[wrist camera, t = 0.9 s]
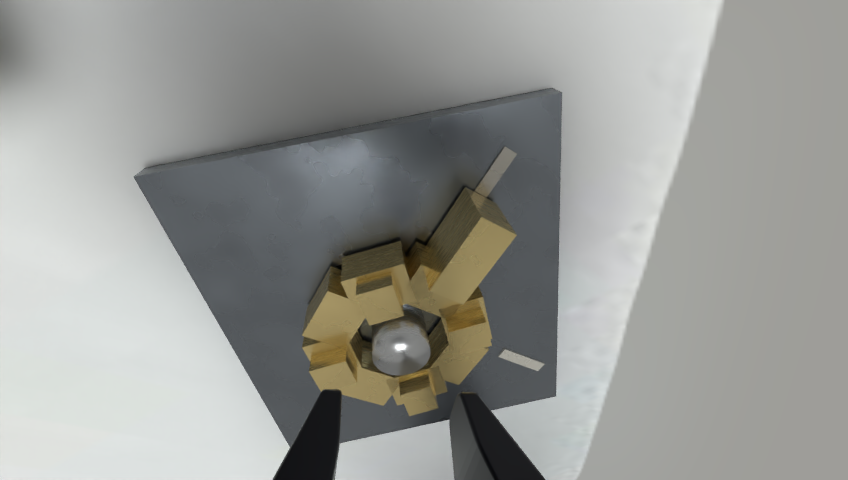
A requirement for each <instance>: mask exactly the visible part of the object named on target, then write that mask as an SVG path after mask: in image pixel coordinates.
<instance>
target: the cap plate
mask: <svg viewBox="0 0 848 480" xmlns="http://www.w3.org/2000/svg"><path fill="white" fill-rule="evenodd" d="M561 111H562V92H560V91H558V90H555V89H553V88H550V89H545V90H540V91H535V92H530V93H525V94H520V95H515V96H510V97H504V98H499V99H494V100H489V101H484V102H479V103H474V104H469V105H464V106H459V107H454V108H448V109H443V110H438V111H433V112H428V113H423V114H418V115H413V116H408V117H403V118H398V119H392V120H387V121H382V122H377V123H372V124H367V125H362V126H357V127H352V128H347V129H342V130H336V131H331V132H326V133H321V134H316V135H311V136H306V137H301V138H296V139H291V140H286V141H280V142H275V143H270V144H265V145H260V146H255V147H250V148H245V149H240V150H235V151H230V152H224V153H219V154H214V155H209V156H204V157H199V158H194V159H189V160H184V161H179V162H174V163H168V164H163V165H158V166H153V167H148V168H144V169H143V170H142V171H141V172H139V173H138V174H137V175H135V176H134V178H135V180H136V182H137V184H138V185H139V187H140V189H141V190H142V192H143V194H144V196H145V197H146V199H147V201H148V203H149V204H150V206H151V208H152V209H153V211H154V213H155V215H156V216H157V218H158V220H159V222H160V223H161V225H162V227H163V228H164V230H165V232H166V234H167V235H168V237H169V239H170V241H171V242H172V244H173V246H174V247H175V249H176V251H177V253H178V254H179V256H180V258H181V260H182V261H183V263H184V265H185V266H186V268H187V270H188V272H189V273H190V275H191V277H192V279H193V280H194V282H195V284H196V285H197V287H198V289H199V291H200V292H201V294H202V296H203V298H204V299H205V301H206V303H207V304H208V306H209V308H210V310H211V311H212V313H213V315H214V317H215V318H216V320H217V322H218V323H219V325H220V327H221V329H222V330H223V332H224V334H225V336H226V337H227V339H228V341H229V342H230V344H231V346H232V348H233V349H234V351H235V353H236V355H237V356H238V358H239V360H240V361H241V363H242V365H243V367H244V368H245V370H246V372H247V374H248V375H249V377H250V379H251V380H252V382H253V384H254V386H255V387H256V389H257V391H258V393H259V394H260V396H261V398H262V399H263V401H264V403H265V405H266V406H267V408H268V410H269V412H270V413H271V415H272V417H273V418H274V420H275V422H276V424H277V425H278V427H279V429H280V431H281V432H282V434H283V436H284V437H285V439H286V441H287V443H288V444H289V446H290V447H291V445H292V443H293V442H294V440H295V438H296V436H297V434H298V433H299V431H300V429H301V427H302V425H303V423H304V422H305V420H306V418H307V416H308V414H309V413H310V411H311V409H312V407H313V405H314V403H315V402H316V400H317V398H318V396H319V394H320V393H321V391H320V389H319V388H318V386H317V384H316V383H315V381H314V379H313V378H312V376H311V374H310V373H309V367H310V360H309V359H308V357H307V355H306V354H305V352H304V350H303V348H302V345H303V339H304V336H302V333H303V327H304V322H305V316H306V311H307V307H308V305H309V304H310V302H311V300H312V298H313V297H314V295H315V293H316V291H317V289H318V288H319V286H320V284H321V282H322V281H323V279H324V277H325V275H326V273H327V272H328V270H329V268H330V266H333V267H335V268H338V269H340V270H342V259H343V257H345V256H348V255H352V254H355V253H359V252H362V251H366V250H369V249H373V248H376V247H380V246H383V245H387V244H390V243H394V242H397V241H401V243H402V246H403V249H404V252H405V255H406V257H407V255H408V254H409V252H410V250H411V249H412V247H413V246H414V244H415V243H416V242H418V243H421V244H423V245H425V246H426V245H427V244H428V242H429V241H430V239H431V238H432V236H433V235H434V233H435V232H436V230H437V229H438V227H439V226H440V224H441V223H442V221H443V220H444V218H445V217H446V215H447V214H448V212H449V211H450V209H451V208H452V206H453V205H454V203H455V202H456V200H457V199H458V197H459V196H460V194H461V193H462V191H463V190H464V188H465V187H466V188H468V189H470V190H472V191H474V192H476V193H478V194H479V195H481V196H483V197H485V198H487V199H489V200H491V201H493V202H495V203H496V204H497V205H498V207H499V208H500V210H501V211H502V213H503V214H504V216H505V217H506V219H507V221H508V222H509V224H510V225H511V227H512V228H513V230H514V231H515V233H516V234H517V236H516V237H515V238H514V240H513V241H512V242H511V244H510V245H509V246H508V247H507V249H506V250H505V251H504V253H503V254H502V255H501V257H500V258H499V259H498V260H497V262H496V263H495V264H494V266H493V267H492V268H491V270H490V271H489V272H488V273H487V275H486V276H485V277H484V279H483V280H482V281H481V283H480V284H479V285H478V286H479V288H480V291H481V293H482V296H483V299H484V304H485V308H486V313H487V317H488V322H489V326H490V331H491V335H492V339H491V344H492V346H489V347H488V348H489V350H488V352H487V353H486V354H485V355H484V356H483V358H482V359H481V360H480V361H479V362H478V363H477V365H476V366H475V367H474V368H473V369H472V370H471V372H470V373H469V374H468V375H467V376H466V377H465V379H464V380H463V381H462V382H461V383H460V384H459V385H457V384H454V383H451V382H448V381H446V386H447V391H448V392H445V393H441V394H438V395H436V398H437V403H438V409H434V410H430V411H427V412H423V413H419V414H416V415H412V416H409V414H408V412H407V410H406V407H405V405H404V404H402V405H398V406H397V404H396V402H395V399H394V397H393V395H392V396H391V397H390V398H389V399H388V401H387V402H386V403H385V405H384V406H382V405H379V404H375V403H371V402H368V401H364V400H360V399H356V398H353V397H349V396H345V395H342V404H341V427H340V443H343V442H347V441H352V440H357V439H361V438H366V437H370V436H375V435H380V434H384V433H389V432H393V431H398V430H403V429H407V428H412V427H416V426H421V425H426V424H430V423H435V422H439V421H444V420H449V419H450V415H451V412H452V409H453V406H454V403H455V400H456V397H457V395H458V394H459V393H460V392H473V393H476V394H477V395H479V397H480V398H481V399H482V400H483V402H484V403H485V404H486V405H487V407H488V408H489V409H490V410H495V409H499V408H504V407H509V406H513V405H518V404H522V403H527V402H532V401H536V400H541V399H546V398H550V397H555V396H556V367H557V316H558V265H559V213H560V162H561ZM403 312H404V316H402V317H399V318H395V319H391V320H388V321H384V322H381V323H377V324H374V325H370V326H369V324H368V322H367V319H366V318H365V319H364V321H363V322H362V324H361V325H360V327H359V328H358V332H359V334H360V336H361V338H362V340H364V341H367V342H370V343H372V359H373V363H374V365H375V366H376V367H377V368H378V369H379V370H380V371H382V372H384V373H386V374H390V375H397V376H400V375H407V374H411V373H414V372H416V371H418V370H420V369H421V368H422V367H423V366H424V365H425V364H426V363H427V362H428V360H429V358H430V345H429V340H428V336H429V335H430V333H431V332H432V331H433V329H434V328H435V327H436V325H437V324H438V323H439V321H440V320H441V317H440V316H437V315H434V314H432V313H429V312H427V311H424V310H421V309H419V308H416V307H413V306H411V305H408V304H404V305H403Z"/></svg>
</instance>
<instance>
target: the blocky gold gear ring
mask: <svg viewBox="0 0 848 480" xmlns="http://www.w3.org/2000/svg"><path fill="white" fill-rule="evenodd" d="M516 236H517V234H516V233H515V231H514V230H513V228H512V227H511V225H510V224H509V222H508V221H507V219H506V217H505V216H504V214H503V213H502V211H501V210H500V208H499V207H498V205H497V204H496V203H495V202H493V201H491V200H489V199H487V198H485V197H483V196H481V195H479V194H478V193H476V192H474V191H472V190H470V189H468V188H466V187H465V188H464V190H463V191H462V193H461V194H460V196H459V197H458V199H457V200H456V202H455V203H454V205H453V206H452V208H451V209H450V211H449V212H448V214H447V215H446V217H445V218H444V220H443V221H442V223H441V224H440V226H439V227H438V229H437V230H436V232H435V233H434V235H433V236H432V238H431V239H430V241H429V242H428V244H427V245H426V246H425V245H423V244H421V243H418V242H416V243H415V244H414V246H413V247H412V249H411V250H410V252H409V254H408V255H407V257H406V255H405V252H404V249H403V246H402V243H401V241H397V242H394V243H390V244H387V245H383V246H380V247H376V248H373V249H369V250H366V251H362V252H359V253H355V254H352V255H348V256H345V257H343V259H342V270H340V269H338V268H335V267H333V266H330V268H329V270H328V272H327V273H326V275H325V277H324V279H323V281H322V282H321V284H320V286H319V288H318V289H317V291H316V293H315V295H314V297H313V298H312V300H311V302H310V304H309V305H308V307H307V311H306V316H305V322H304V327H303V333H302V336H304V339H303V345H302V348H303V350H304V352H305V354H306V355H307V357H308V359H309V360H310V367H309V373H310V374H311V376H312V378H313V379H314V381H315V383H316V384H317V386H318V388H319V389H320V391H322V390H324V389H339V390H341V392H342V395H345V396H349V397H353V398H356V399H360V400H364V401H368V402H371V403H375V404H379V405H382V406H384V405H385V403H386V402H387V401H388V399H389V398H390V397H391V396H392V395H393V397H394V399H395V402H396V404H397V406H398V405H402V404H404V405H405V407H406V410H407V412H408V414H409V416H412V415H416V414H419V413H423V412H427V411H430V410H434V409H438V403H437V398H436V395H438V394H441V393H445V392H448V391H447V386H446V381H448V382H451V383H454V384H457V385H459V384H460V383H461V382H462V381H463V380H464V379H465V377H466V376H467V375H468V374H469V373H470V372H471V370H472V369H473V368H474V367H475V366H476V365H477V363H478V362H479V361H480V360H481V359H482V358H483V356H484V355H485V354H486V353H487V352H488V350H489V348H488V347H489V346H492V344H491V339H492V335H491V331H490V326H489V322H488V317H487V313H486V308H485V304H484V299H483V296H482V293H481V291H480V288H479V286H478V285H479V284H480V283H481V281H482V280H483V279H484V277H485V276H486V275H487V273H488V272H489V271H490V270H491V268H492V267H493V266H494V264H495V263H496V262H497V260H498V259H499V258H500V257H501V255H502V254H503V253H504V251H505V250H506V249H507V247H508V246H509V245H510V244H511V242H512V241H513V240H514V238H515V237H516ZM404 304H408V305H411V306H413V307H416V308H419V309H421V310H424V311H427V312H429V313H432V314H434V315H437V316H440V317H441V320H440V321H439V323H438V324H437V325H436V327H435V328H434V329H433V331H432V332H431V333H430V335H429V336H428V340H429V345H430V358H429V360H428V362H427V363H426V364H425V365H424V366H423V367H422V368H421V369H420V370H418V371H416V372H414V373H411V374H407V375H400V376H397V375H390V374H386V373H384V372H382V371H380V370H379V369H378V368H377V367H376V366H375V365H374V363H373V359H372V343H370V342H367V341H364V340H362V338H361V336H360V334H359V332H358V328H359V327H360V325H361V324H362V322H363V321H364V319H365V318H366V319H367V322H368V324H369V326H370V325H374V324H377V323H381V322H384V321H388V320H391V319H395V318H399V317H402V316H404V312H403V305H404Z"/></svg>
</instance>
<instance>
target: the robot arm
mask: <svg viewBox="0 0 848 480" xmlns="http://www.w3.org/2000/svg"><path fill="white" fill-rule="evenodd" d="M341 404H342V392H341V390H339V389H324V390H322V391H321V393H320V394H319V396H318V398H317V400H316V402H315V403H314V405H313V407H312V409H311V411H310V413H309V414H308V416H307V418H306V420H305V422H304V423H303V425H302V427H301V429H300V431H299V433H298V434H297V436H296V438H295V440H294V442H293V443H292V445H291V447H290V449H289V451H288V452H287V454H286V456H285V458H284V460H283V462H282V463H281V465H280V467H279V469H278V471H277V472H276V474H275V476H274V478H273V480H335V474H336V467H337V460H338V452H339V444H340V427H341ZM450 436H451V447H452V458H453V469H454V479H455V480H545V478H544V477H543V476H542V475H541V473H540V472H539V471H538V470H537V468H536V467H535V466H534V465H533V463H532V462H531V461H530V460H529V458H528V457H527V456H526V454H525V453H524V452H523V451H522V449H521V448H520V447H519V446H518V444H517V443H516V442H515V441H514V439H513V438H512V437H511V436H510V434H509V433H508V432H507V431H506V429H505V428H504V427H503V426H502V424H501V423H500V422H499V420H498V419H497V418H496V417H495V415H494V414H493V413H492V412H491V410H490V409H489V408H488V407H487V405H486V404H485V403H484V402H483V400H482V399H481V398H480V397H479V395H477V394H476V393H473V392H460V393H459V394H458V395H457V397H456V400H455V403H454V406H453V409H452V412H451V415H450Z"/></svg>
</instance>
